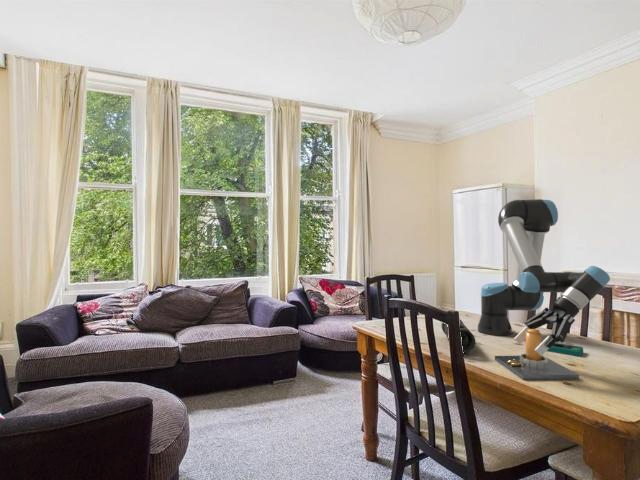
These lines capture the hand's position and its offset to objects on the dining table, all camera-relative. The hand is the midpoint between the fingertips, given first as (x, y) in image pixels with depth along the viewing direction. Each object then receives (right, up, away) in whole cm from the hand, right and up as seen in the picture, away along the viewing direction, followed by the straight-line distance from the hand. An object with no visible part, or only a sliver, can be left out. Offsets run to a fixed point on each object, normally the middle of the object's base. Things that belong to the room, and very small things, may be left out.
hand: (526, 346), depth 132 cm
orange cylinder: (+2, -6, 0) cm, 7 cm away
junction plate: (+2, -8, 0) cm, 8 cm away
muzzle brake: (-13, -8, +30) cm, 34 cm away
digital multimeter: (+25, -8, +20) cm, 33 cm away
